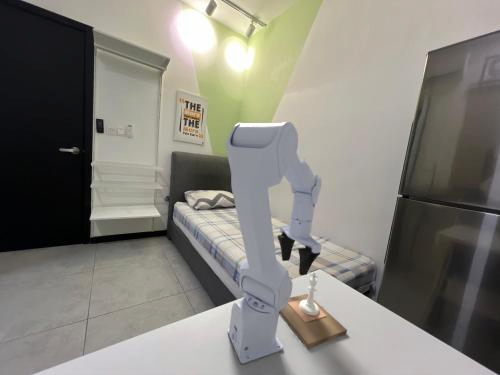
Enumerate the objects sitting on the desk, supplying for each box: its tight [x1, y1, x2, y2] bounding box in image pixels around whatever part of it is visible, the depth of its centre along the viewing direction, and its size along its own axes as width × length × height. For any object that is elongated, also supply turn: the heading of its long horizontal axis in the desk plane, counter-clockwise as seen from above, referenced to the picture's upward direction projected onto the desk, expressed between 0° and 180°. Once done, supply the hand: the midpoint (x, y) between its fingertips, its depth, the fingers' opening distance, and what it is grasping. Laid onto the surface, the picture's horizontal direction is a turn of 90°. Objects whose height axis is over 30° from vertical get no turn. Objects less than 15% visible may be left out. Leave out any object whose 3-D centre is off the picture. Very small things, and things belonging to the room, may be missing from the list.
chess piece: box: [299, 271, 319, 315], centre depth 52 cm, size 5×5×10 cm
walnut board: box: [279, 293, 348, 349], centre depth 50 cm, size 12×14×1 cm
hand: (293, 266), depth 55 cm, fingers open, 7 cm apart
